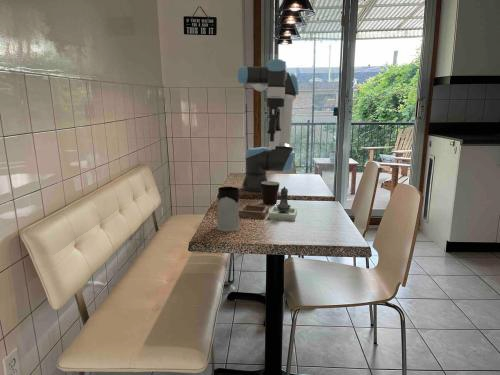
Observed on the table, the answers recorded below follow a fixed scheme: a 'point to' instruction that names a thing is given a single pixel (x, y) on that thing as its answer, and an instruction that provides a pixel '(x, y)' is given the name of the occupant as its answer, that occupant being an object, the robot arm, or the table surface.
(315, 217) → the table surface
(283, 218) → the sage tray
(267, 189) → the coffee mug
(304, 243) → the table surface
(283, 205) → the marbled chess piece
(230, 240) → the table surface
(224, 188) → the white and black cylinder
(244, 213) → the walnut holder
